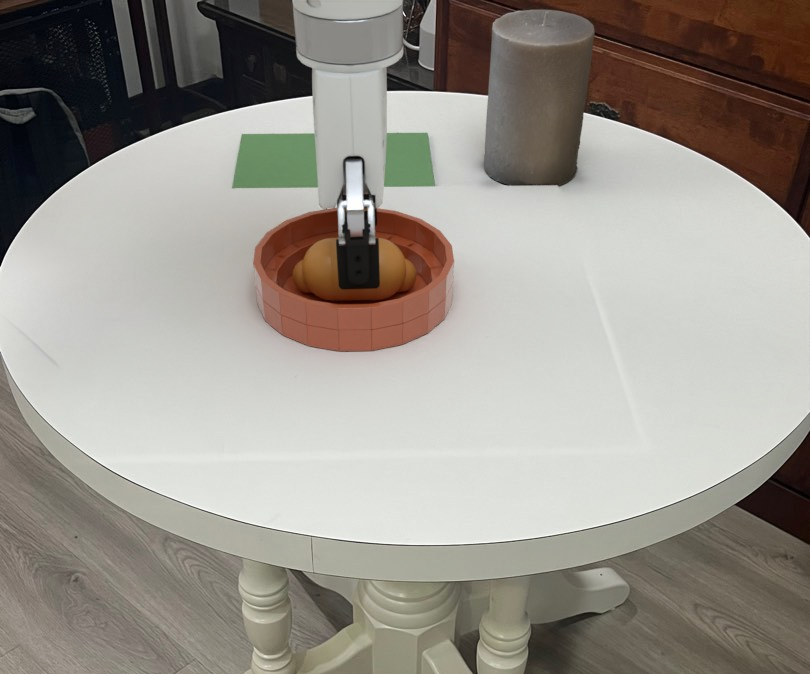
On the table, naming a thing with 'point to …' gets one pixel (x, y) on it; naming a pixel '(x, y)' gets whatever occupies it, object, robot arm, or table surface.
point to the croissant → (322, 273)
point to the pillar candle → (537, 96)
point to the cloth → (296, 163)
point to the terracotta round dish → (358, 319)
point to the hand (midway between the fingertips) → (358, 255)
